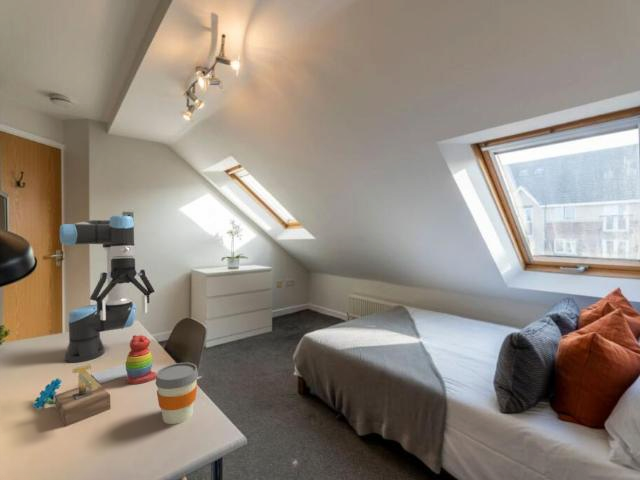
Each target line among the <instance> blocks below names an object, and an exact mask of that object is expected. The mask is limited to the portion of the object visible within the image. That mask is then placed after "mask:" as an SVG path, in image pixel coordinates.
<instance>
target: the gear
mask: <svg viewBox="0 0 640 480" xmlns="http://www.w3.org/2000/svg"><path fill="white" fill-rule="evenodd" d="M61 383H62V379H60V378H58V377H57V378H55V379H53V380H51V382H50V383H48V384H46V385H45V387H44V390H41V391H40V392H39V395H40V396H37V397H36V398H35V400H34V402H35V403H34V404H33V407H34V406H35V407H34V408H35V409H37V410H38V409H39V408H43V407H44V406H45V404H46V403H48V405H50V406H51V405H52V406H53V405H54V406H55V395H57V394H58V392H57V391H56V390H59V389H60V387H61Z"/></svg>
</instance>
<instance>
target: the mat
mask: <svg viewBox="0 0 640 480" xmlns="http://www.w3.org/2000/svg"><path fill="white" fill-rule="evenodd" d="M90 375H91V376H92V377H93V378H94V379H95V381H96V382H98V383H99V384H100V385H103V384H106V383H109V382H111V381H115V380H119V379H122V378H124V377H128V375H127V371H126V364H123V363H122V364H120V365H117V366H112V367H110V368H106V369H103V370H100V371H96V372H94V373H91V374H90Z"/></svg>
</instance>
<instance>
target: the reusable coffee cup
mask: <svg viewBox="0 0 640 480" xmlns="http://www.w3.org/2000/svg"><path fill="white" fill-rule="evenodd" d="M156 373H157V375H156V379H155V386H156V387H157V390H156V395H157V401H158V406H159V408H160V410H161V415H162V421H163V423H165V424H167V425H177V424H181V423H183V422H186V421H187V420H189V419H190V418H191V417H192V416H193V413H194V404H195V401H196V399H197V391H198V382H197V380H198V377H199V373H198V366H197V365H196V364H194V363H191V362H179V363H172V364H169V365H167V366H165V367H164V366H163V367H162V368H160V369H159V370H158V371H157V372H156Z"/></svg>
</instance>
